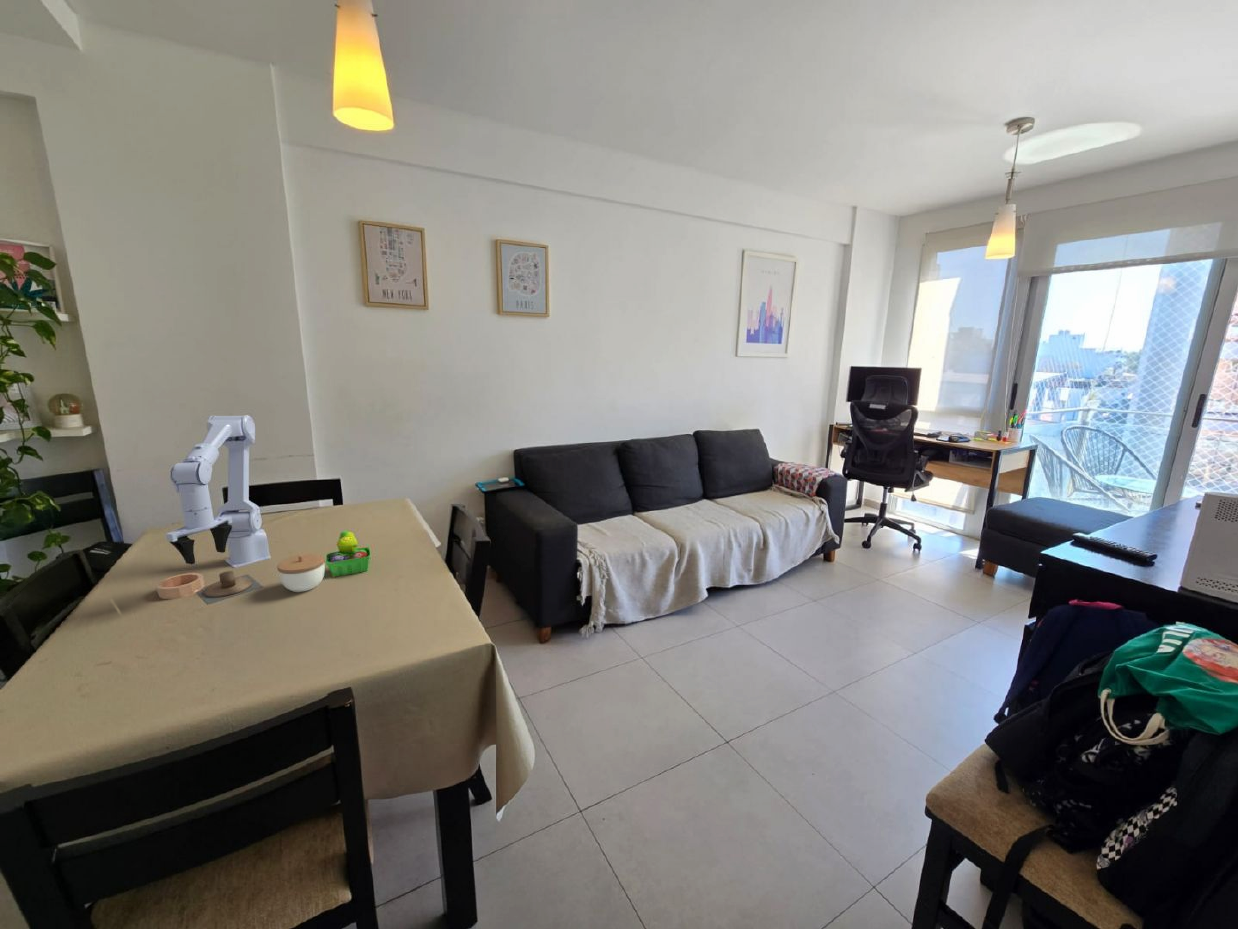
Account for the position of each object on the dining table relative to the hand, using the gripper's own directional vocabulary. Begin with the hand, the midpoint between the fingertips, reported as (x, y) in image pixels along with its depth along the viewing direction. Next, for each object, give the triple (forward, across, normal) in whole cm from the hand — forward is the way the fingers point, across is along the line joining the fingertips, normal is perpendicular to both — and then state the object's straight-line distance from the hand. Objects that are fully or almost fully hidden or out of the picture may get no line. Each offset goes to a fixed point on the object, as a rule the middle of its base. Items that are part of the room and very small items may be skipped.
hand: (206, 557), depth 129 cm
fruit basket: (+10, -21, +24) cm, 34 cm away
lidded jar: (+10, -8, +22) cm, 25 cm away
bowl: (+10, +3, -7) cm, 12 cm away
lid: (+9, -2, +4) cm, 10 cm away
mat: (+10, -2, +4) cm, 10 cm away
